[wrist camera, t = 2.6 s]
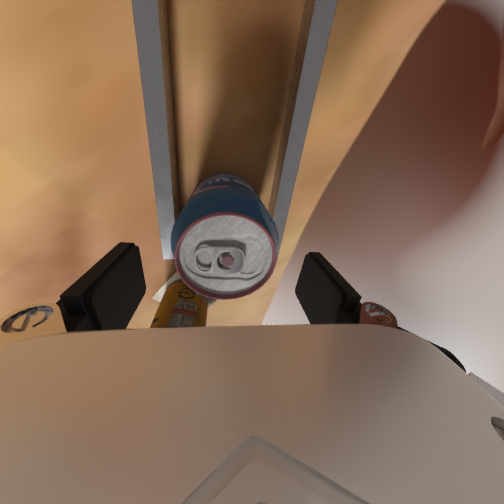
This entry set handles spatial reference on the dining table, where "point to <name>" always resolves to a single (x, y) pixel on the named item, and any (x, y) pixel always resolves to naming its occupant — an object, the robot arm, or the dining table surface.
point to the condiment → (180, 305)
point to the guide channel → (162, 117)
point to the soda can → (224, 239)
